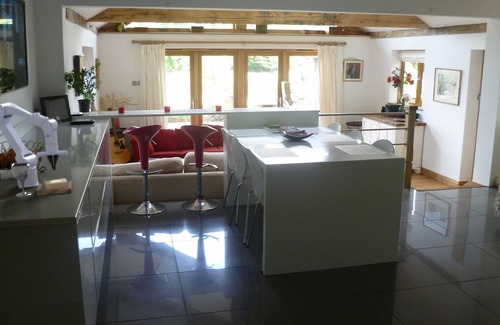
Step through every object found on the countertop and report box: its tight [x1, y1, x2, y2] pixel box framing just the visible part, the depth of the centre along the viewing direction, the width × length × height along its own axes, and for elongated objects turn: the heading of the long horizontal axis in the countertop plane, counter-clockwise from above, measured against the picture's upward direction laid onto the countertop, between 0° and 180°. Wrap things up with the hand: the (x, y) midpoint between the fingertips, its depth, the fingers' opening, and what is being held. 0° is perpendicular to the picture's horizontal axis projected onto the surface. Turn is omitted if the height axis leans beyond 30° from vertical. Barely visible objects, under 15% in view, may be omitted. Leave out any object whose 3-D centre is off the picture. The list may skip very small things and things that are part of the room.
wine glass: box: [10, 162, 33, 198], centre depth 238 cm, size 8×8×15 cm
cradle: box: [35, 180, 73, 196], centre depth 246 cm, size 16×14×2 cm
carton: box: [43, 177, 69, 190], centre depth 245 cm, size 10×7×5 cm
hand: (54, 169), depth 250 cm, fingers closed
